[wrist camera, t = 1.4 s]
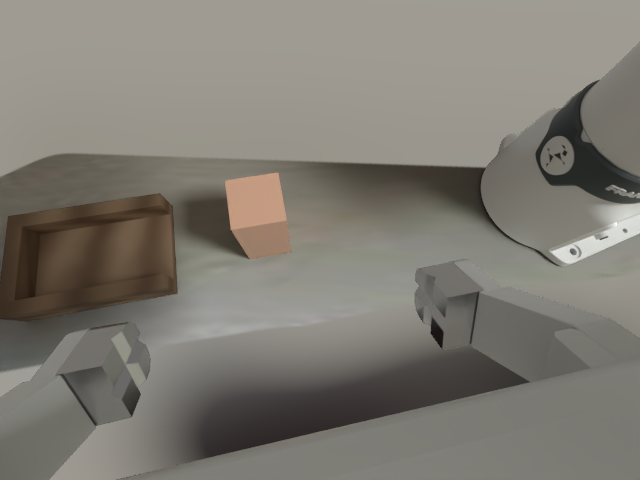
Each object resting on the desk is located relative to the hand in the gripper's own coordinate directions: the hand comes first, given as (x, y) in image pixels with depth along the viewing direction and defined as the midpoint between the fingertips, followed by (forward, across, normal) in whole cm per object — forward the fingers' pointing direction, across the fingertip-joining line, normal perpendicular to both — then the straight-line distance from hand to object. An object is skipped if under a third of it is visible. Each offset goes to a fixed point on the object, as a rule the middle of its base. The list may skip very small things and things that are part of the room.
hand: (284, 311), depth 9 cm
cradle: (+28, +21, +10) cm, 36 cm away
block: (+28, +2, +10) cm, 30 cm away
